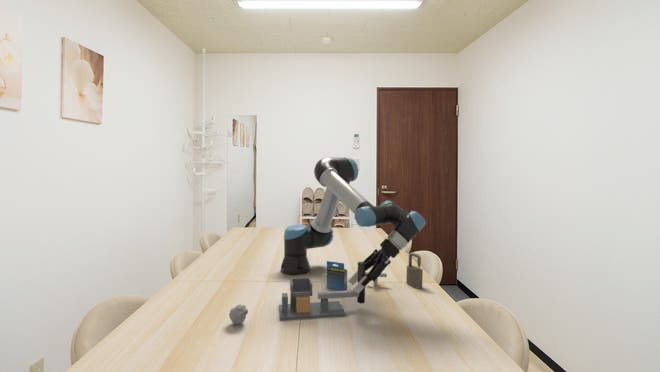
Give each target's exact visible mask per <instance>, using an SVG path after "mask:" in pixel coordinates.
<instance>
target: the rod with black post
mask: <svg viewBox="0 0 660 372" xmlns="http://www.w3.org/2000/svg"><path fill="white" fill-rule="evenodd" d="M365 268H366V263H365V262H363V261H358V262H357V270H358V281H357V282H356V283H357V284H358V283H359V282H360V280H361V279H362V278H363V277H364V276H365V272H366V271H365ZM357 284H356V285H357ZM344 298H356V301H357V304H365V303H366V286H365V287H364V288H363V289H362V290H361V292H360V293H359V294H358V293H357V292H356V291H355V290H354V289H349V290H347V289H346V290H331V291H329V290H328V291H317V300H321V299H328V300H329V299H344Z"/></svg>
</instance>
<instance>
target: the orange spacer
mask: <svg viewBox="0 0 660 372" xmlns="http://www.w3.org/2000/svg"><path fill="white" fill-rule="evenodd" d="M310 303H311V296H302V297H296V311H297V313H299V312H310Z"/></svg>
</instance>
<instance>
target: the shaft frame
mask: <svg viewBox="0 0 660 372" xmlns="http://www.w3.org/2000/svg"><path fill="white" fill-rule="evenodd" d="M289 291H290V295H288V293H287V292H284V293H282V292H281V304H278V311H279V313H280V314H279V321H292V320H296V321H297V320H306V319H307V320H308V319H309V320H310V319H321V318H325V319H326V318H335V317H336V318H337V317H346V316H347V313H346V311H345V309H344V307H343V306H342V304H341V302H340V300H333V301H332V300H331V301H329V299H320V301H319V302H317V301H316V302H310V312H299V313H297V311H296V297H302V296H310V297H312V296H313V282H312V280H311V277H309V276H308V277H307V276H306V277H291V278H289ZM289 296H290V303H289Z"/></svg>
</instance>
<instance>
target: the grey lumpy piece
mask: <svg viewBox="0 0 660 372" xmlns="http://www.w3.org/2000/svg"><path fill="white" fill-rule="evenodd" d="M248 314H249V310H248V308H246V304H237V305H236V306H235V307H232V308H230V310H229V314H228V316H229V319H230V321H231V323H233V324H234V325H236V326H238V325H242V324H243V323H244V322H245V320H246V318H247V317H246V316H247V315H248Z"/></svg>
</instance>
